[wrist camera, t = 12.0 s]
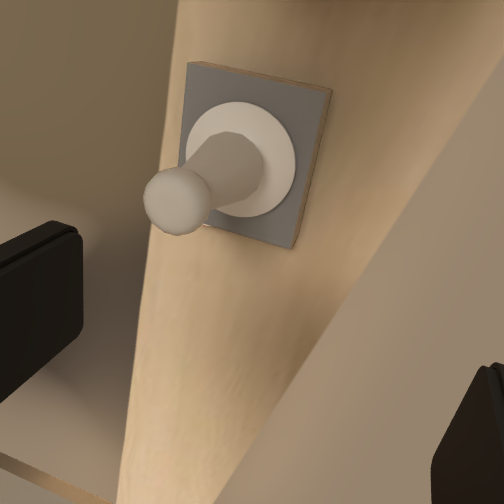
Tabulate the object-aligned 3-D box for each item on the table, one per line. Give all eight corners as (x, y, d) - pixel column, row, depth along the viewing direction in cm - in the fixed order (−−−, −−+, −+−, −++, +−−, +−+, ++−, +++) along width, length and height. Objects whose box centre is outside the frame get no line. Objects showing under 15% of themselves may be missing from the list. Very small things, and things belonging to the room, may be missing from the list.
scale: (202, 61, 41) (183, 62, 37) (332, 89, 38) (324, 93, 35) (186, 208, 47) (169, 221, 44) (296, 241, 45) (287, 256, 41)
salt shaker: (219, 199, 41) (145, 256, 30) (198, 137, 40) (112, 174, 28) (279, 185, 39) (223, 242, 28) (260, 119, 37) (192, 151, 26)
